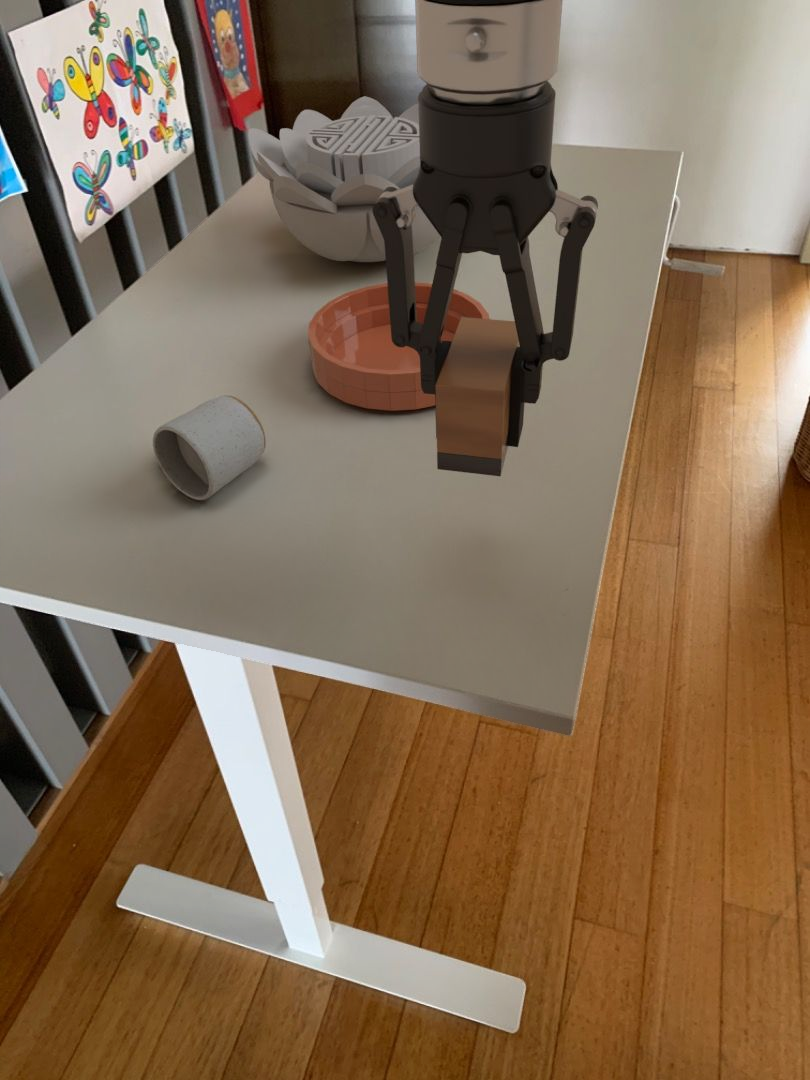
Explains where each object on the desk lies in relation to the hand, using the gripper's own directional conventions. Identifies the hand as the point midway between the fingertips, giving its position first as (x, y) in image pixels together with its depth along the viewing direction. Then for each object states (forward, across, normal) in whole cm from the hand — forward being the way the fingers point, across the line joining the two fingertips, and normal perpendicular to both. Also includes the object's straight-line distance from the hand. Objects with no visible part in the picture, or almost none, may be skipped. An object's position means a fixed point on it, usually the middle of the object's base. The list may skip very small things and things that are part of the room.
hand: (479, 431), depth 62 cm
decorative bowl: (+14, -26, +58) cm, 65 cm away
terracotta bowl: (+13, -14, +29) cm, 35 cm away
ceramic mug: (+14, -28, +7) cm, 32 cm away
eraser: (0, 0, 0) cm, 0 cm away
